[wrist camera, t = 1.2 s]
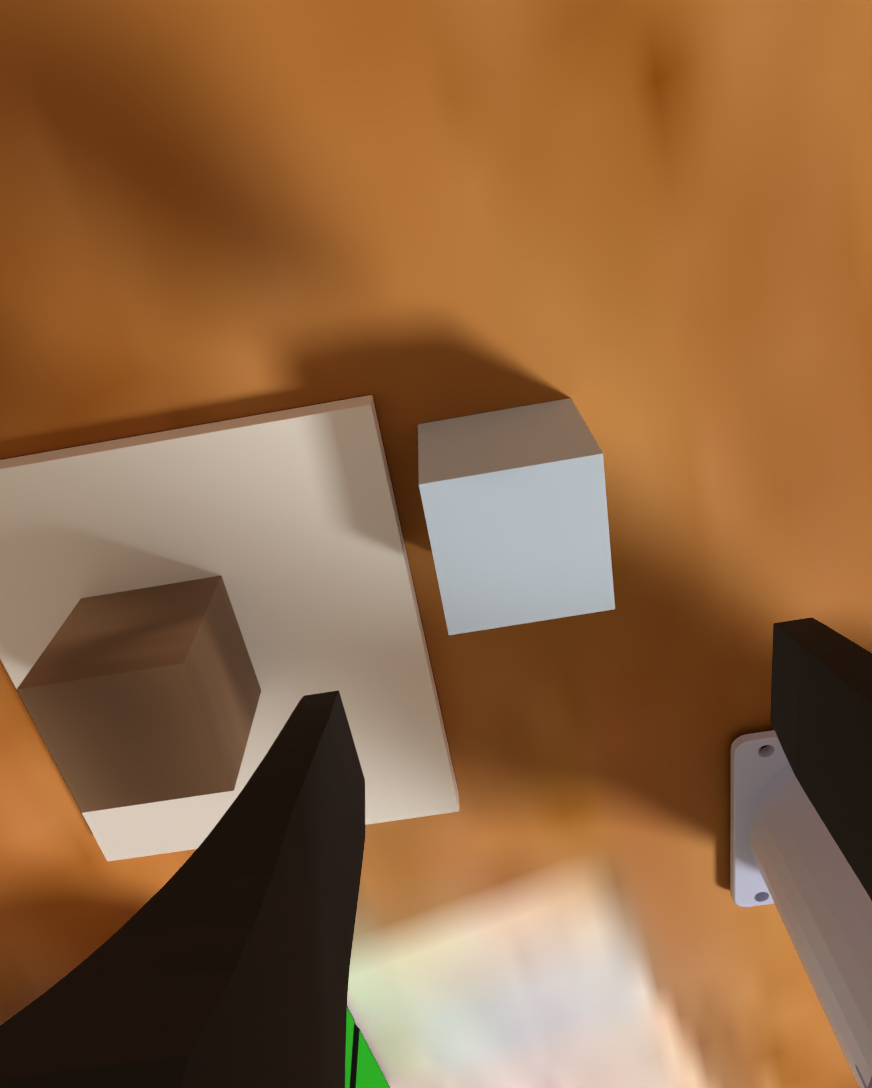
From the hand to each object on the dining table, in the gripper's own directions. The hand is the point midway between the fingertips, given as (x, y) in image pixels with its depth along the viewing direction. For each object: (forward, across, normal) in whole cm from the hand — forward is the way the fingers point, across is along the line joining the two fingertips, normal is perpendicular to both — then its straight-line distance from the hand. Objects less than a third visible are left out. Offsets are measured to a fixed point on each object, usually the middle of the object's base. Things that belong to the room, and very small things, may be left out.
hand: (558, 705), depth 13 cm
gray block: (+9, 0, 0) cm, 9 cm away
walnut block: (+8, +10, +3) cm, 13 cm away
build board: (+9, +9, +4) cm, 14 cm away
